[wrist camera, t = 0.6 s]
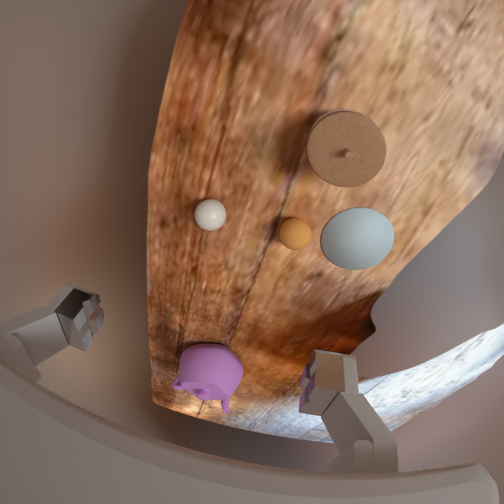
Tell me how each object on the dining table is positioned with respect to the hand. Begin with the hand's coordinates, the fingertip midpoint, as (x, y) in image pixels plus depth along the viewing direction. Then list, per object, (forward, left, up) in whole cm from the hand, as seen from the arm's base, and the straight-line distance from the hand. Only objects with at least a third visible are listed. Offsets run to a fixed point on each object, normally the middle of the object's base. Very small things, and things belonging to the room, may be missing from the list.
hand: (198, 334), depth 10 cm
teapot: (+71, -4, -40) cm, 82 cm away
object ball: (+20, +7, -37) cm, 42 cm away
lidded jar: (+2, +10, -40) cm, 41 cm away
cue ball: (+20, -8, -37) cm, 43 cm away
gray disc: (+20, +19, -40) cm, 48 cm away
